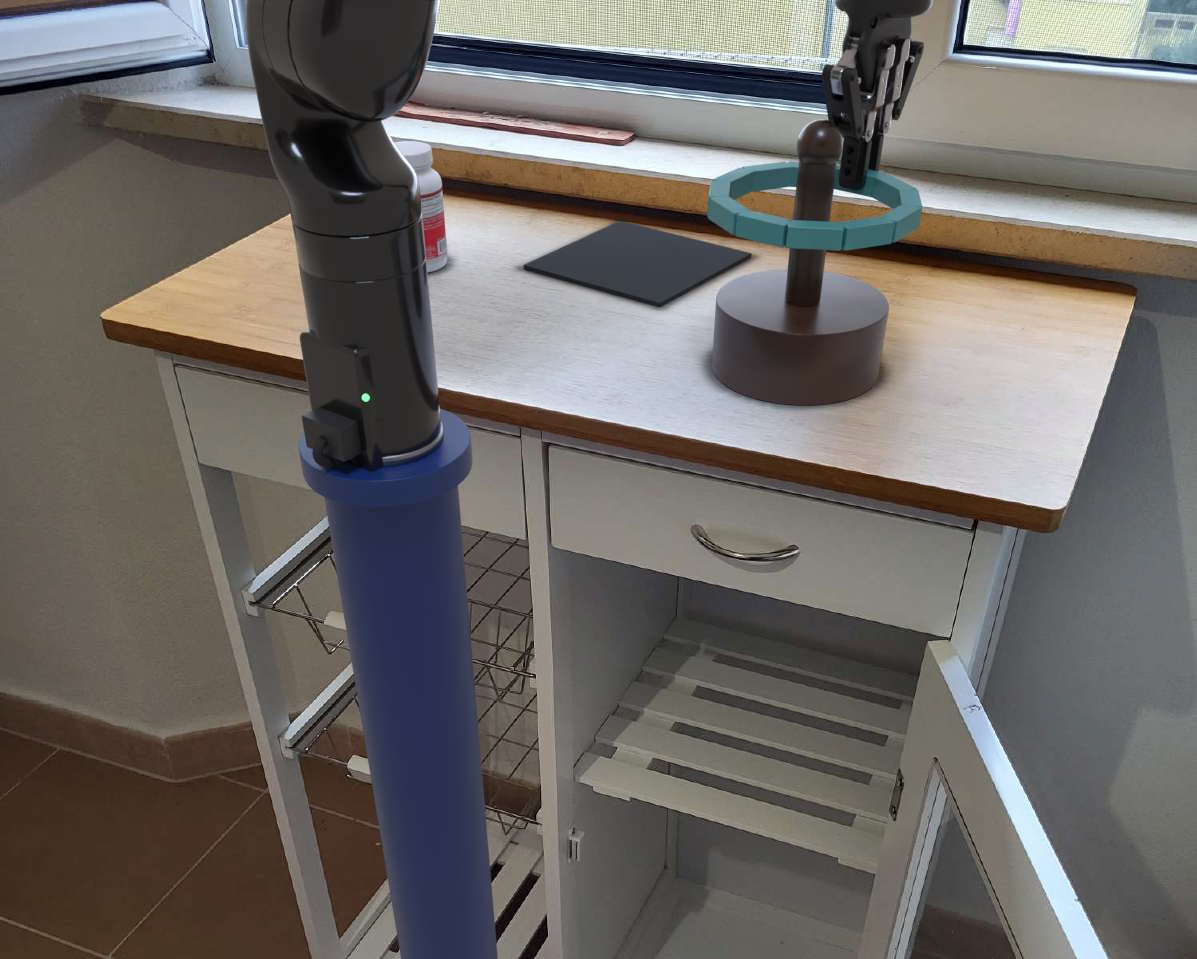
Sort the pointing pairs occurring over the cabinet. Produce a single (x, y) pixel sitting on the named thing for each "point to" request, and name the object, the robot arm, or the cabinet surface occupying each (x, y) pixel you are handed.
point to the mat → (638, 262)
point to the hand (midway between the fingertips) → (857, 183)
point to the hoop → (812, 232)
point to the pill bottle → (428, 201)
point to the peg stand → (802, 308)
